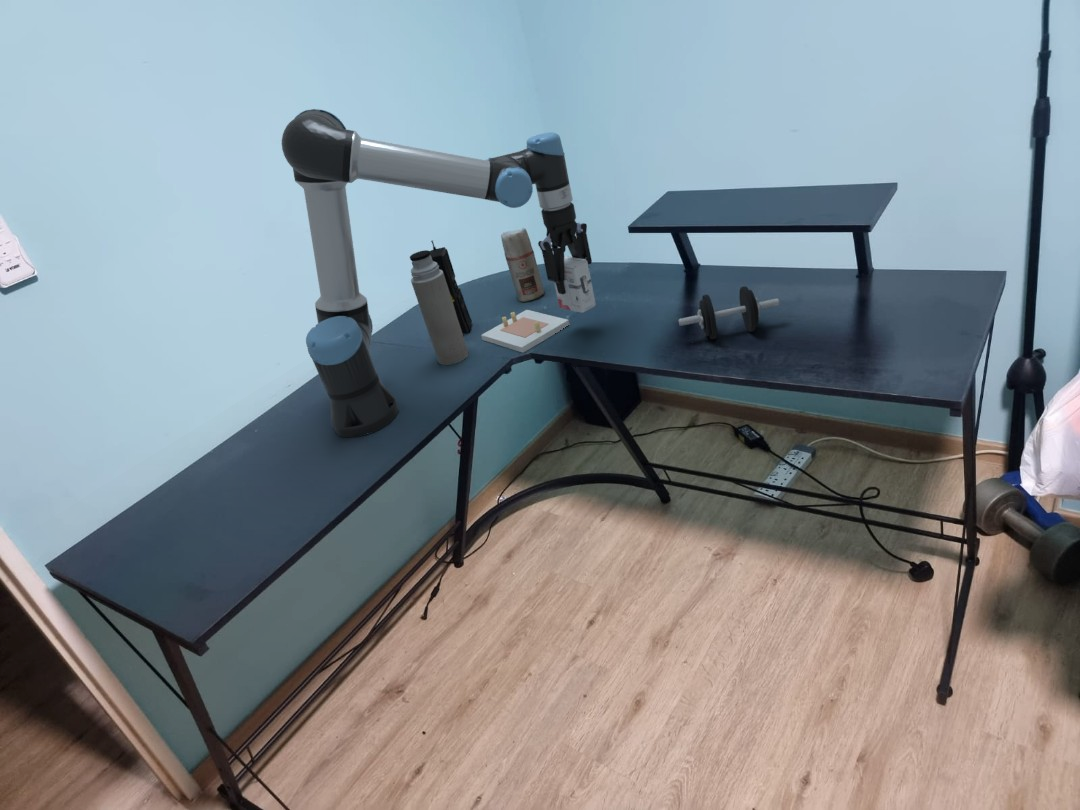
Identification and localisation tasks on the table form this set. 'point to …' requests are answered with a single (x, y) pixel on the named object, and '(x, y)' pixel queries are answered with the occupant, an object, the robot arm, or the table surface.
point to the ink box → (577, 285)
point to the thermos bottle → (437, 309)
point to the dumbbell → (729, 312)
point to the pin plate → (524, 330)
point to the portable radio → (452, 287)
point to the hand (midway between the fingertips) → (576, 300)
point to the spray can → (522, 264)
